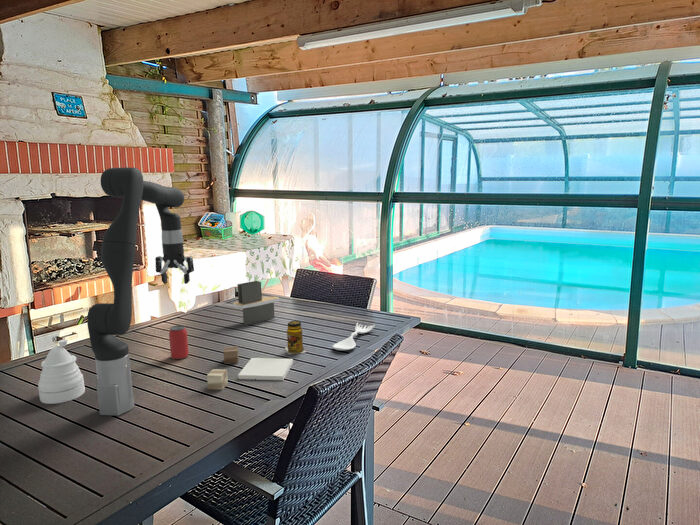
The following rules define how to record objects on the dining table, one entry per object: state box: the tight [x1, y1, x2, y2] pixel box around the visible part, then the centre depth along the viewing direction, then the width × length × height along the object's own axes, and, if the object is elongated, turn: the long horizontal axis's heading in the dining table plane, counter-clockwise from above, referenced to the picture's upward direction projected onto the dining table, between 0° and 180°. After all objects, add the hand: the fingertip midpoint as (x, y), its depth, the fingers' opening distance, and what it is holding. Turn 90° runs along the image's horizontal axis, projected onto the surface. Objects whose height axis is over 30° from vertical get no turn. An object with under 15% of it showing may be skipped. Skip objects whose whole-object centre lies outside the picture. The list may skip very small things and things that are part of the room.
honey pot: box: [37, 339, 86, 405], centre depth 160 cm, size 13×13×18 cm
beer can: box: [168, 325, 190, 360], centre depth 192 cm, size 7×7×12 cm
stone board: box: [237, 357, 294, 381], centre depth 178 cm, size 16×16×2 cm
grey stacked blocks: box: [232, 280, 280, 327], centre depth 237 cm, size 38×25×20 cm, turn 132°
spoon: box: [331, 322, 376, 351], centre depth 208 cm, size 9×32×4 cm, turn 158°
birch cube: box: [206, 368, 229, 391], centre depth 166 cm, size 5×5×5 cm
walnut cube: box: [223, 345, 240, 365], centre depth 187 cm, size 5×5×5 cm
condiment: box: [284, 320, 307, 356], centre depth 197 cm, size 7×8×12 cm
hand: (176, 283), depth 190 cm, fingers open, 8 cm apart
